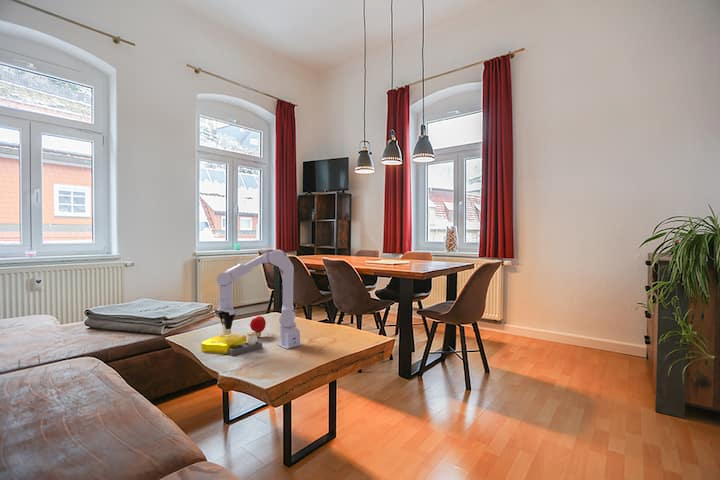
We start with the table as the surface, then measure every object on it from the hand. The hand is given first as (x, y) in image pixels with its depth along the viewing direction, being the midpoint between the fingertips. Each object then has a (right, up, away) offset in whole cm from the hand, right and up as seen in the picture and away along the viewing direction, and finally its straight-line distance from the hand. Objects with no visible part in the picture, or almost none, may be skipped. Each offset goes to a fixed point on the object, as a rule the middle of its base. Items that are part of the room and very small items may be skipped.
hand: (226, 327), depth 162 cm
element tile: (-1, -10, +1) cm, 10 cm away
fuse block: (+9, -9, -4) cm, 14 cm away
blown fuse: (0, -3, 0) cm, 3 cm away
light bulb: (+10, -9, +15) cm, 20 cm away
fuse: (+12, -9, -2) cm, 15 cm away
